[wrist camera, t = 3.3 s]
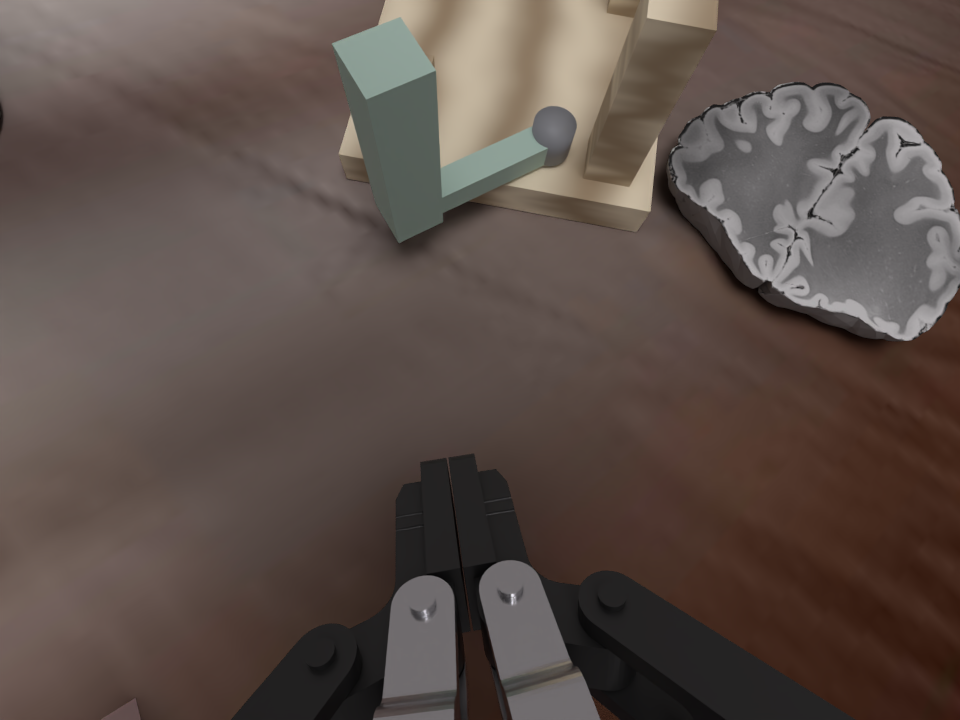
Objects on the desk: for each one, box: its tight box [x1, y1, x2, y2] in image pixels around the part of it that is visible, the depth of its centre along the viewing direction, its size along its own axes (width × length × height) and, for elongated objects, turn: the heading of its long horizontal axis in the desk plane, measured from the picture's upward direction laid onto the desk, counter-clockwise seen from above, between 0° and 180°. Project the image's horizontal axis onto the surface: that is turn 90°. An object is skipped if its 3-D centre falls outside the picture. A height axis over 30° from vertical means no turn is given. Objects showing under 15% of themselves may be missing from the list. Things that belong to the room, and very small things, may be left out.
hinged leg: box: [332, 17, 577, 243], centre depth 26 cm, size 13×3×11 cm, turn 120°
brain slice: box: [666, 82, 960, 341], centre depth 33 cm, size 20×17×3 cm
